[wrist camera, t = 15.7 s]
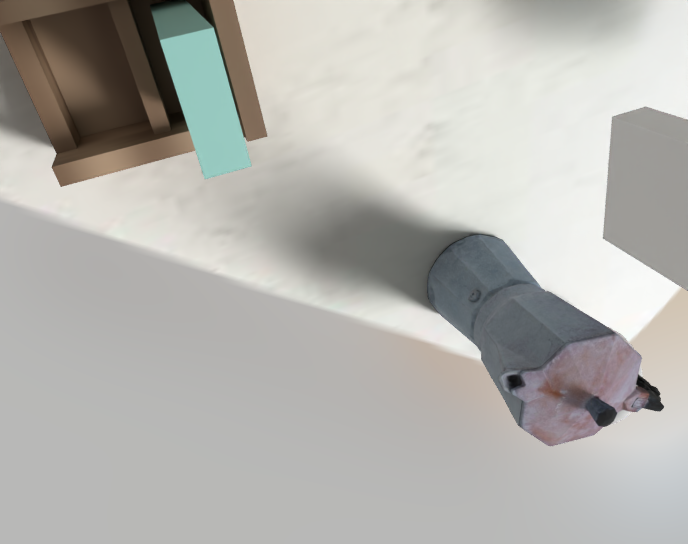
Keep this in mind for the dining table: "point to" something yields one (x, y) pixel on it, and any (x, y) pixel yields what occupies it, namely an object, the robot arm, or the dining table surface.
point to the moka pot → (537, 344)
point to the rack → (115, 80)
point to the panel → (201, 87)
